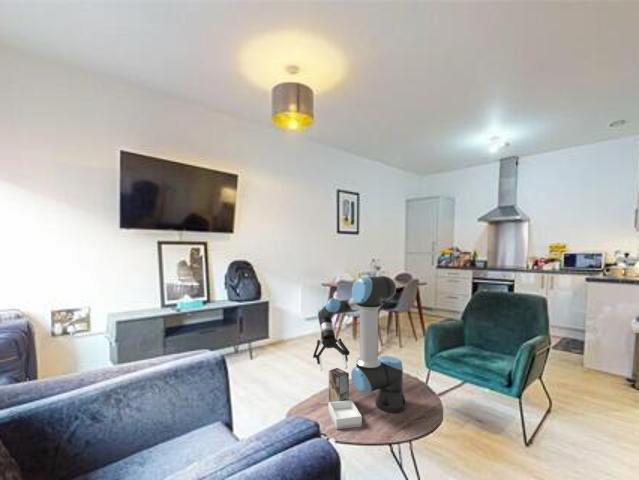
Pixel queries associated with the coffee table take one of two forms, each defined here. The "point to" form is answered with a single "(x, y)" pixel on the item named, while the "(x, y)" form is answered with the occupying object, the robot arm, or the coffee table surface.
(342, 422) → the box
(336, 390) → the coffee box
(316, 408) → the coffee table surface
